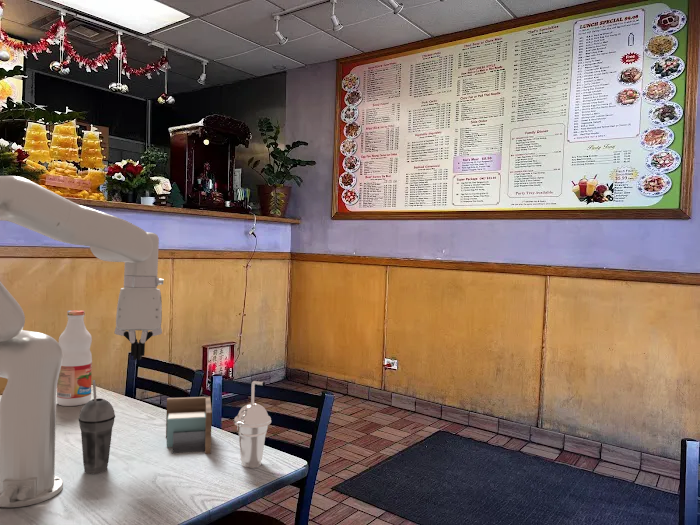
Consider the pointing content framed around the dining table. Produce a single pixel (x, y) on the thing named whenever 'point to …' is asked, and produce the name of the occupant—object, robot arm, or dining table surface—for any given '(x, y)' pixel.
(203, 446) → the dark grey rectangular block
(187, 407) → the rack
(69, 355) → the fruit juice
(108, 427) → the beverage cup
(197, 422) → the pale teal block
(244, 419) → the cup with straw
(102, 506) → the dining table surface
